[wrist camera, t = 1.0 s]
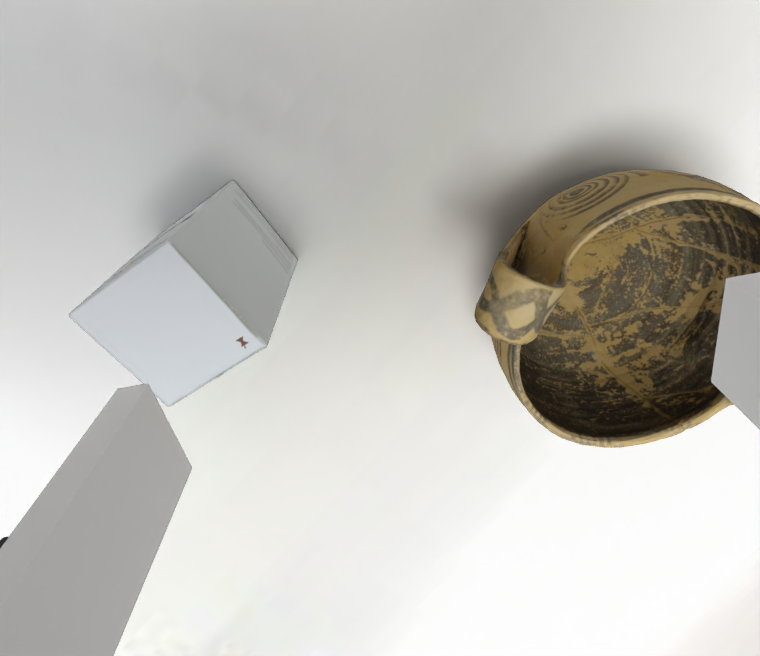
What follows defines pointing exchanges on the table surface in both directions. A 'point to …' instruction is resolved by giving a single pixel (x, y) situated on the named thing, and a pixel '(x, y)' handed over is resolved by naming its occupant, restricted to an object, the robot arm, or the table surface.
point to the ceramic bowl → (620, 304)
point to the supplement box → (193, 297)
